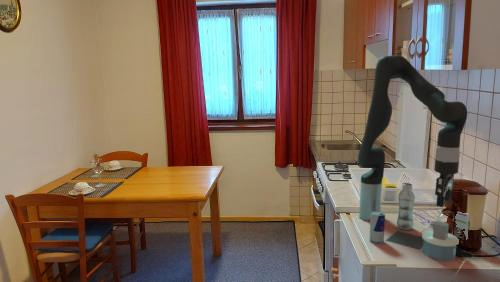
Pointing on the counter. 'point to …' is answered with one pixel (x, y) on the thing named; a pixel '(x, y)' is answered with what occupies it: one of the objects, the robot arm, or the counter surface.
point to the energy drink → (377, 227)
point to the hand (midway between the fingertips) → (443, 203)
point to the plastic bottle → (406, 207)
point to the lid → (440, 235)
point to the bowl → (439, 251)
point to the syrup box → (463, 222)
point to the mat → (406, 239)
